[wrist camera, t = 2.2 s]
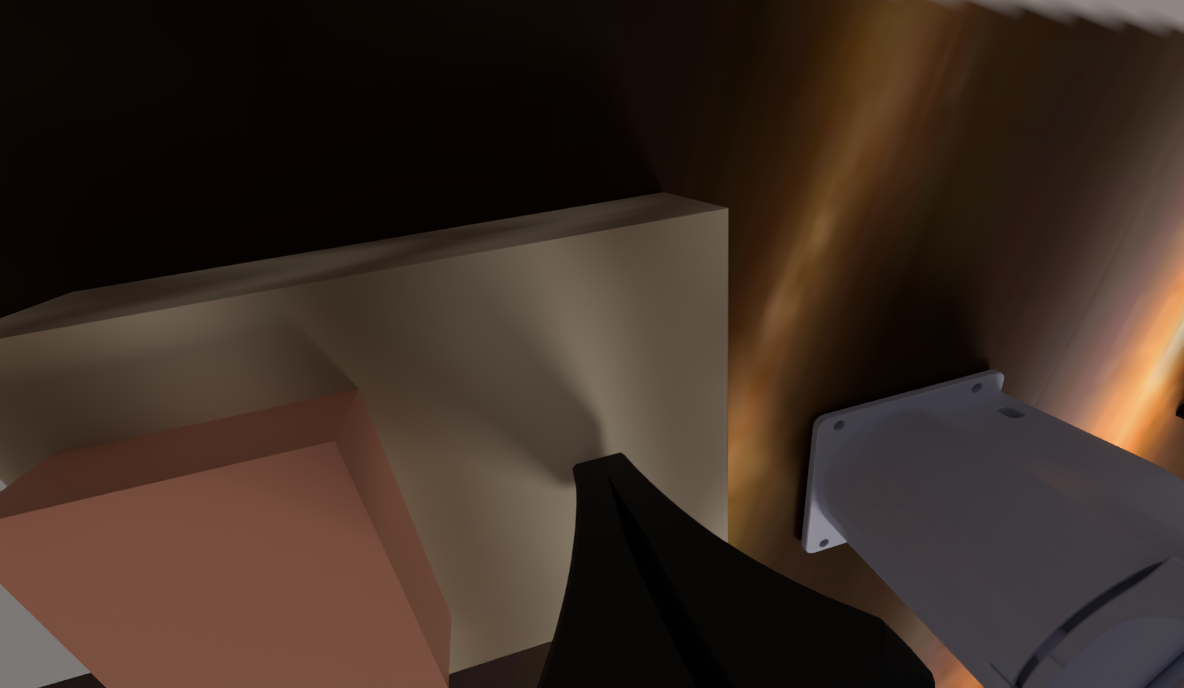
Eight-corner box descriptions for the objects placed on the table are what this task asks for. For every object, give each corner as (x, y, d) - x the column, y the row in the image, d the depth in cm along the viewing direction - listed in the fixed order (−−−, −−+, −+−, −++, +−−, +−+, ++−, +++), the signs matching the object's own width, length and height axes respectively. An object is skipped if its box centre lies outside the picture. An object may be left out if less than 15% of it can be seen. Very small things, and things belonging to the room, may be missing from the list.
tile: (358, 388, 10) (334, 440, 8) (451, 617, 14) (448, 688, 12) (49, 456, 9) (-54, 530, 7) (232, 683, 13) (192, 772, 11)
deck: (663, 192, 14) (728, 208, 10) (681, 504, 20) (727, 584, 16) (72, 291, 12) (-108, 357, 8) (285, 617, 17) (235, 743, 13)
